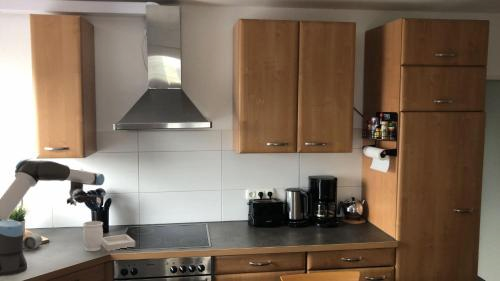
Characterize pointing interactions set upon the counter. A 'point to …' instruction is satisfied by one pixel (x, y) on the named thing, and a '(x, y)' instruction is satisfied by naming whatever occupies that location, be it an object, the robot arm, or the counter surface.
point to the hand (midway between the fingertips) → (88, 202)
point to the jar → (92, 235)
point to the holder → (117, 242)
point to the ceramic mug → (32, 242)
